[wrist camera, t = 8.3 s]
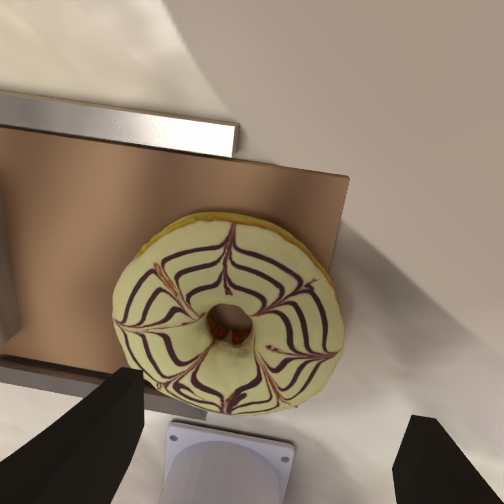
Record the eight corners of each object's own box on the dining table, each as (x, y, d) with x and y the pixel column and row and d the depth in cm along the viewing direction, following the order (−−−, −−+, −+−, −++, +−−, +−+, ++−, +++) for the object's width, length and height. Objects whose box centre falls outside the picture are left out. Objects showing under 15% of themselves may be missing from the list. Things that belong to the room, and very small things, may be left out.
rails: (210, 400, 23) (205, 420, 21) (-113, 340, 24) (-139, 356, 23) (239, 123, 16) (234, 126, 15) (-205, 61, 18) (-248, 58, 16)
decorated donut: (227, 407, 23) (215, 464, 19) (97, 281, 20) (56, 320, 17) (378, 323, 19) (395, 374, 16) (244, 157, 17) (229, 175, 13)
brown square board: (348, 176, 16) (364, 205, 12) (297, 399, 22) (296, 473, 18) (-41, 118, 18) (-148, 128, 13) (0, 345, 23) (-68, 403, 19)
